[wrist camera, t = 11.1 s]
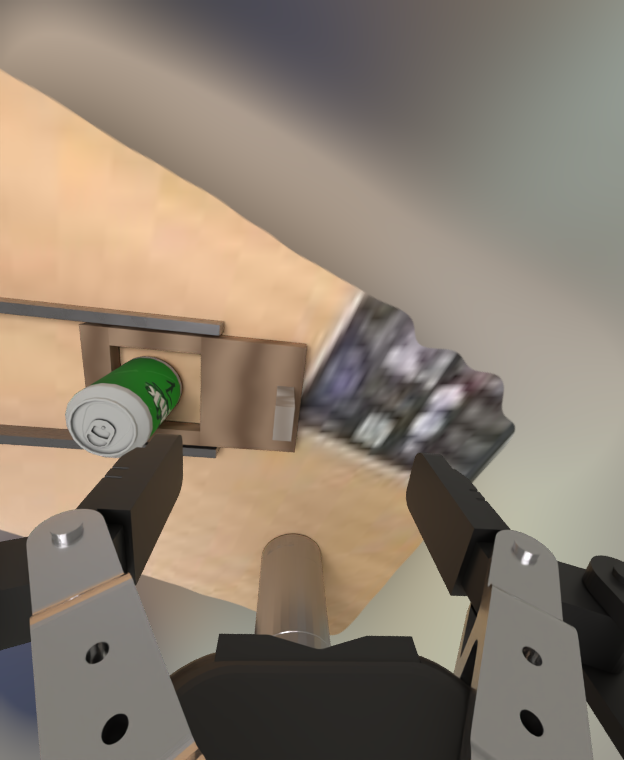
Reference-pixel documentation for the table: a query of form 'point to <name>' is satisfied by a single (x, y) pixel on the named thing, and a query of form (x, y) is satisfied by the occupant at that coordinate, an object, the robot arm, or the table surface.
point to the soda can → (123, 407)
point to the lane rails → (104, 316)
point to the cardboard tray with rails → (217, 383)
